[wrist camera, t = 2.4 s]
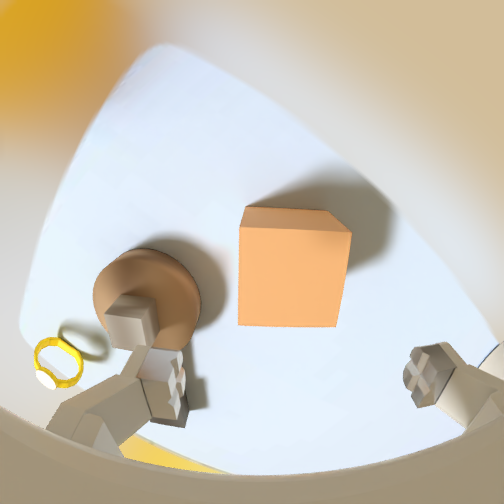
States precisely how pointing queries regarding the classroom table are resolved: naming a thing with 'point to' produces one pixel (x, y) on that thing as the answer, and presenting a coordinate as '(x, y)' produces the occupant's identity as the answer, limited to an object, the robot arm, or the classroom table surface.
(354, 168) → the classroom table surface
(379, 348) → the classroom table surface
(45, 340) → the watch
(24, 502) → the robot arm
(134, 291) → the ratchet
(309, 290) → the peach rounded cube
